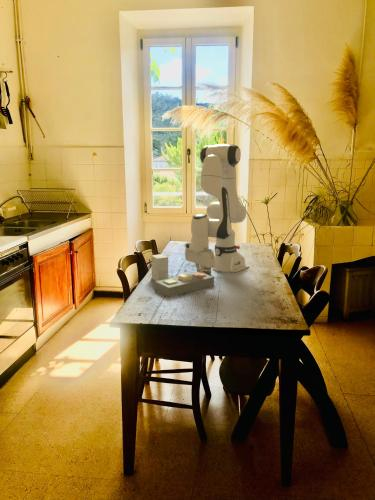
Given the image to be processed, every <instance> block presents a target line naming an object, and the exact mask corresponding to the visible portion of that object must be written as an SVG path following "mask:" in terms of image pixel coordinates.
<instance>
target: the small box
mask: <svg viewBox="0 0 375 500" xmlns="http://www.w3.org/2000/svg"><path fill="white" fill-rule="evenodd" d="M168 278H169V257H168V256H166V255H164V254H162V253H161V254H160V253H159V254H151V279H152V280H153V281H154V282H155V281H159V280H163V279H168Z"/></svg>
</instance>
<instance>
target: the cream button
mask: <svg viewBox="0 0 375 500" xmlns="http://www.w3.org/2000/svg"><path fill="white" fill-rule="evenodd" d="M189 274H190V273H181V274H178V279H179V280H181V281H184V282H185V281H189V280H192V276H191V275H189Z"/></svg>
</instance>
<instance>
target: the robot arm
mask: <svg viewBox="0 0 375 500" xmlns="http://www.w3.org/2000/svg"><path fill="white" fill-rule="evenodd" d="M241 155H242V154H241V148H240V147H239V146H238V145H235V144H225V143H220V144H213V145H204V146H202V148H201V150H200V153H199V158H200V159H199V160H200V162H201V163H202V167H201V172H200V187H201V189H202V191H203V192H205V193H206V194H208V195H209V196H212V197H214V198H215V199H216V200H217V201H213V202H210V203H209V204H208V205H207V208H206V213H202V212H201V213H196V214H193V215H192V217H191V223H190V233H191V238H190V239H191V240H190V242H186V243H185V244H184V247H185V250H184V251H185V252H184V257H185V260H186V261H188V262H190V263H193V264H195V265H194V266H195V268H196V272H199V273H203V269H204V267H207V268H211V270H214V271H216V272H223V273H237V272H240V271H243V270H245V269H248V268H250V266H249V264H247V263H246V259H245V256H243V255H242V254H241V253H240V252H238V250H239V249H241V245H238V244H236V243H235V242H236V233H235V230H234V229H233V227H232V223H233V224H237V223H238V224H239V223H243V222H244V221H245V219H246V217H247V212H248V211H247V209H246V207H245V206H244V205H243V203H242V201H241V200H240V199H239V196H238V192H237V169H236V168H237V167H236V166H237V165H238V163H240V160H241ZM209 238H215V244H214V251H213V250H212V249H210V248H209V244H210V243H209ZM235 244H236V245H235ZM237 249H238V250H237Z"/></svg>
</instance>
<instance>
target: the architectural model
mask: <svg viewBox="0 0 375 500" xmlns="http://www.w3.org/2000/svg"><path fill="white" fill-rule="evenodd" d="M203 273H205V274H207V275H210V276H212V268H207V267H204V269H203Z"/></svg>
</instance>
